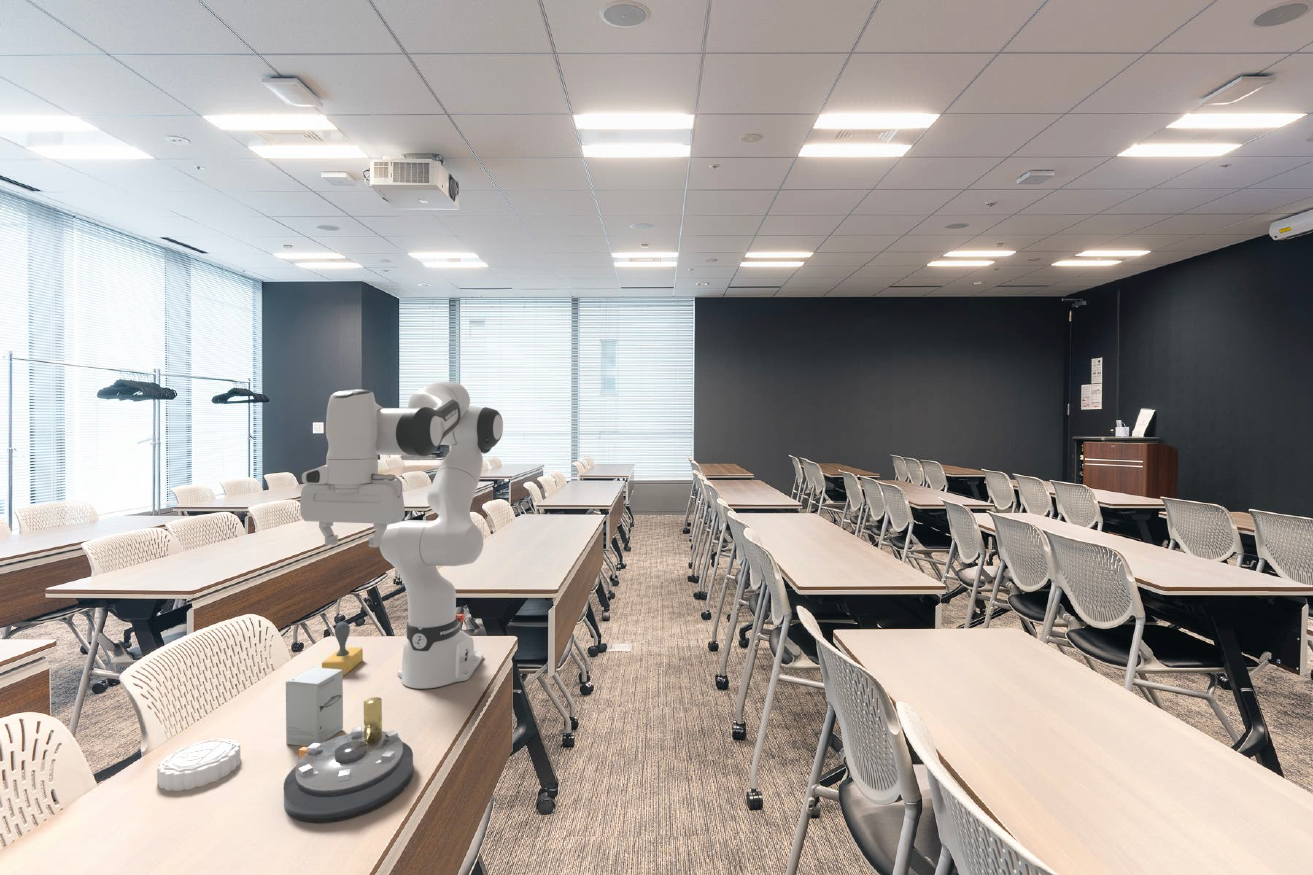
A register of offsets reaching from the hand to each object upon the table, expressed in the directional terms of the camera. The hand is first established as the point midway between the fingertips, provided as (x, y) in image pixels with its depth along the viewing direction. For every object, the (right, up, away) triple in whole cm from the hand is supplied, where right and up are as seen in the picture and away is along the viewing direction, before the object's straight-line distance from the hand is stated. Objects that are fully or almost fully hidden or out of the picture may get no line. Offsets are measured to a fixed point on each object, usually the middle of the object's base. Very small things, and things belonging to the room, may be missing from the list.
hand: (353, 545), depth 114 cm
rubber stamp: (-23, -39, +39) cm, 60 cm away
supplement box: (-11, -40, +6) cm, 42 cm away
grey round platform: (+5, -40, -10) cm, 42 cm away
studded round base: (+5, -37, -10) cm, 38 cm away
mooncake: (-25, -40, -6) cm, 48 cm away
